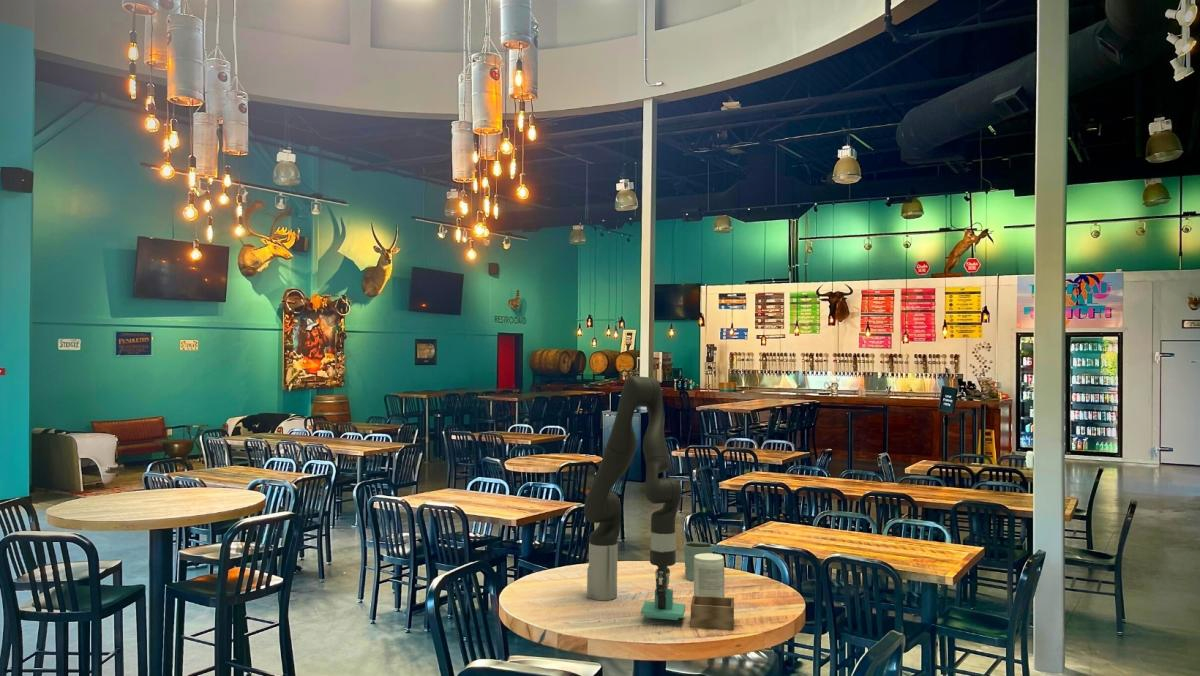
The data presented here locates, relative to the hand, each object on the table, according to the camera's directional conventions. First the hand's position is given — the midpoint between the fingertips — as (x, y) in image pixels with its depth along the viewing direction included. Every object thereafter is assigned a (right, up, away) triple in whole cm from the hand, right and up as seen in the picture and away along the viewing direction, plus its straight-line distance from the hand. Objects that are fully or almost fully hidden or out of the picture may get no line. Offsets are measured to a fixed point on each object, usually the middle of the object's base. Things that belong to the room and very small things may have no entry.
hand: (662, 606), depth 240 cm
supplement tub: (+16, -6, +20) cm, 27 cm away
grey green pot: (+16, -7, +50) cm, 53 cm away
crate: (+14, -5, -2) cm, 15 cm away
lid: (0, -2, 0) cm, 2 cm away
